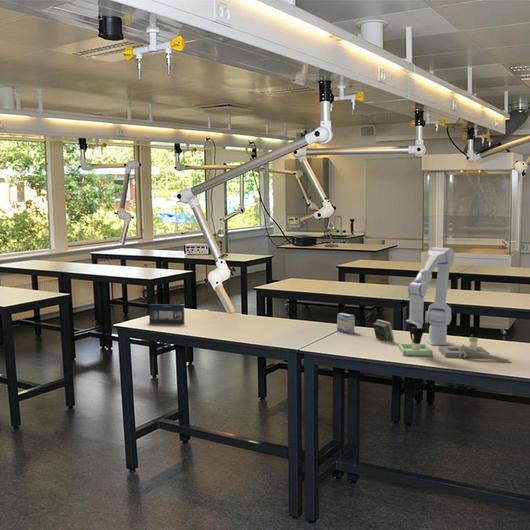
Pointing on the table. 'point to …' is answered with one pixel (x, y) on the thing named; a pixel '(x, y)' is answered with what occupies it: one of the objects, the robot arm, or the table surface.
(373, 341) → the table surface
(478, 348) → the fuse block
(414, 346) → the banded cream cylinder
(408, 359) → the table surface
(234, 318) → the table surface
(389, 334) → the electrical switch
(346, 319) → the medicine box
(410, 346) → the parts tray
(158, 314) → the vhs cassette tape
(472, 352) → the caliper
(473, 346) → the fuse
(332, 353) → the table surface
